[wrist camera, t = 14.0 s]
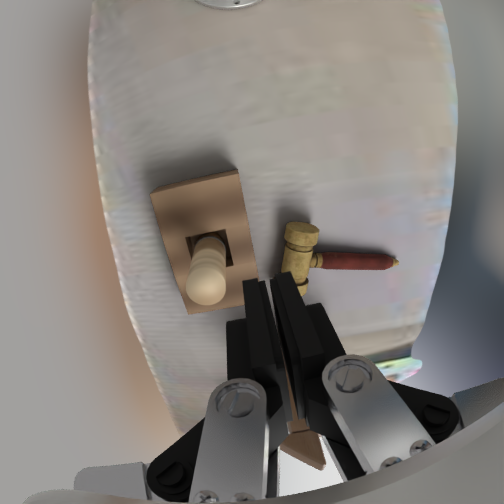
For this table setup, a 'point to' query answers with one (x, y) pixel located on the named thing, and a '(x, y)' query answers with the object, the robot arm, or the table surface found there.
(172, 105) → the table surface
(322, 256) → the gavel
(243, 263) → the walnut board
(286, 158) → the table surface
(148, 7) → the table surface
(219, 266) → the wooden pepper mill
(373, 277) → the table surface
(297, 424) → the wooden toy
